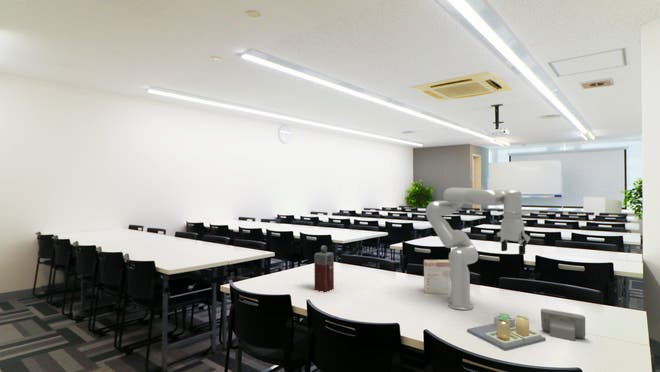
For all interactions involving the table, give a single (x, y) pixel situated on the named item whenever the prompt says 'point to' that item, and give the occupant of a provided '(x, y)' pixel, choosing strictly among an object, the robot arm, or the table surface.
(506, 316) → the button
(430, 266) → the coffeecake box
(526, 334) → the station
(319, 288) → the square decanter bottle
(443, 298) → the table surface
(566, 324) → the digital clock
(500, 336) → the cylinder
